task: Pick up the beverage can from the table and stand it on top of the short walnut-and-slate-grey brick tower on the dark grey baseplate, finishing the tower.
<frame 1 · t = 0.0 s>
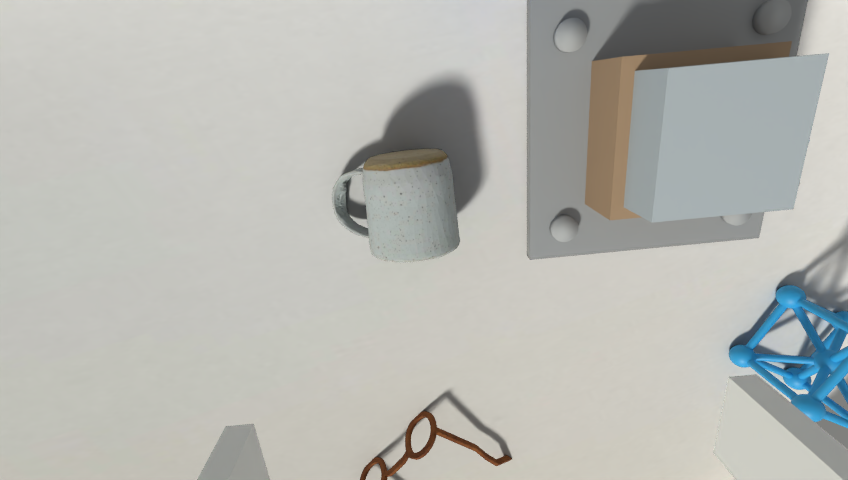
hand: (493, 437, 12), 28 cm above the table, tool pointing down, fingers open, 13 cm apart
molecular structure: (782, 332, 45), on the table
ceramic mug: (395, 196, 38), on the table
tower base: (650, 129, 37), on the table
glasses: (434, 461, 50), on the table
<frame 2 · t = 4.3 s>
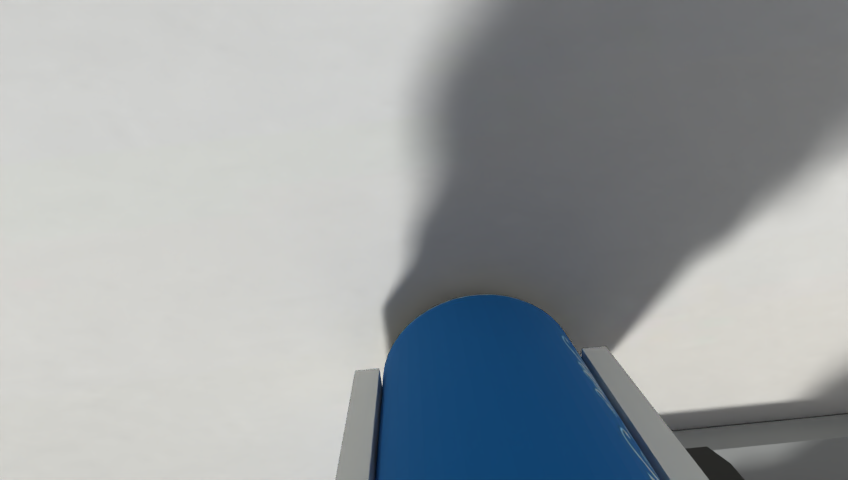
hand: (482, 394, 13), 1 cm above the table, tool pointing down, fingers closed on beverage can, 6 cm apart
beverage can: (474, 361, 15), on the table, touching gripper
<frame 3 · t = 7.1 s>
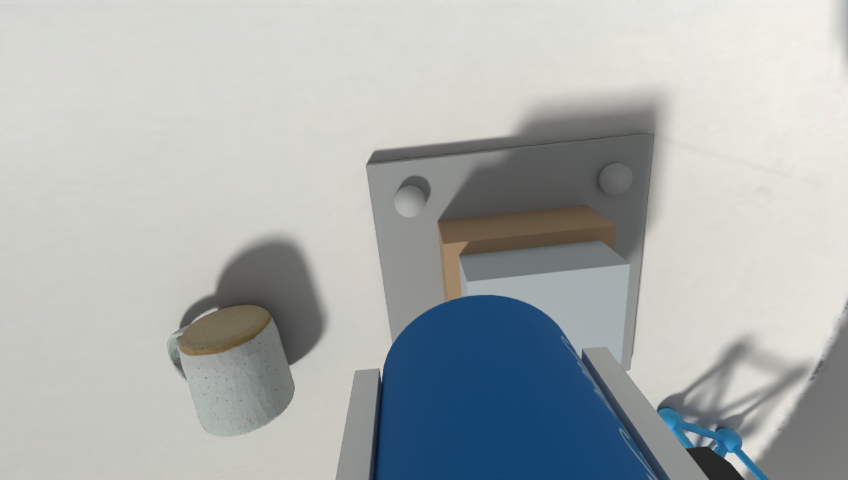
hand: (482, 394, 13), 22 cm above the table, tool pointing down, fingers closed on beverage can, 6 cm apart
molecular structure: (669, 445, 45), on the table
ceramic mug: (240, 342, 38), on the table
tower base: (510, 274, 36), on the table
beverage can: (474, 362, 15), point 20 cm above the table, touching gripper
when the fingers open (13 cm above the table, at t = 10.3 s): beverage can drops 1 cm, resting on tower base.
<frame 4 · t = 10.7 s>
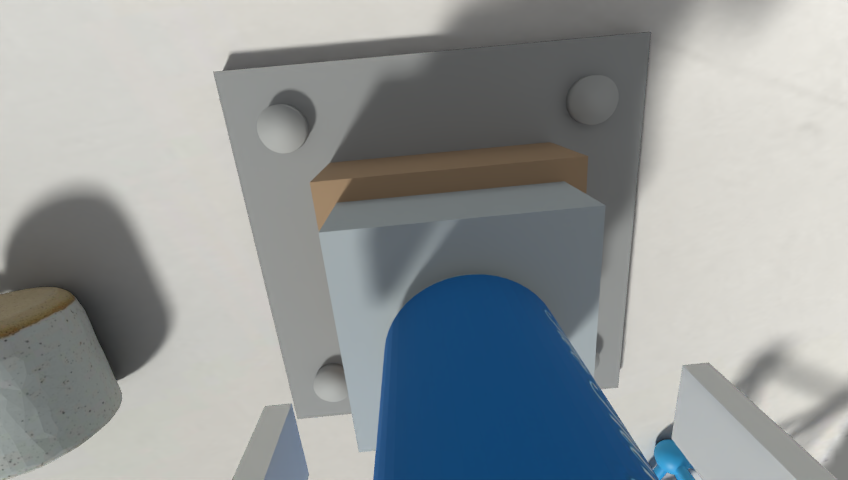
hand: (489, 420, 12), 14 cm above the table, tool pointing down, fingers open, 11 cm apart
ceramic mug: (53, 341, 27), on the table
tower base: (446, 248, 25), on the table
beverage can: (468, 338, 16), point 10 cm above the table, touching tower base
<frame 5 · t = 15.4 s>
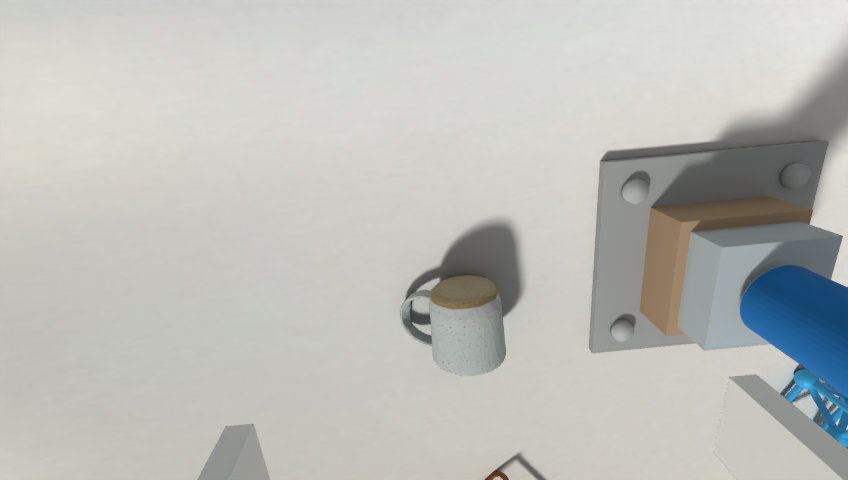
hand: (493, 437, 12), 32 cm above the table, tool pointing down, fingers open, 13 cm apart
molecular structure: (798, 404, 53), on the table
ceramic mug: (449, 307, 47), on the table
tower base: (694, 252, 45), on the table
beverage can: (768, 294, 36), point 10 cm above the table, touching tower base
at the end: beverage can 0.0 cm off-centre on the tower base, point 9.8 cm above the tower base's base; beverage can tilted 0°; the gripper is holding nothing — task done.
